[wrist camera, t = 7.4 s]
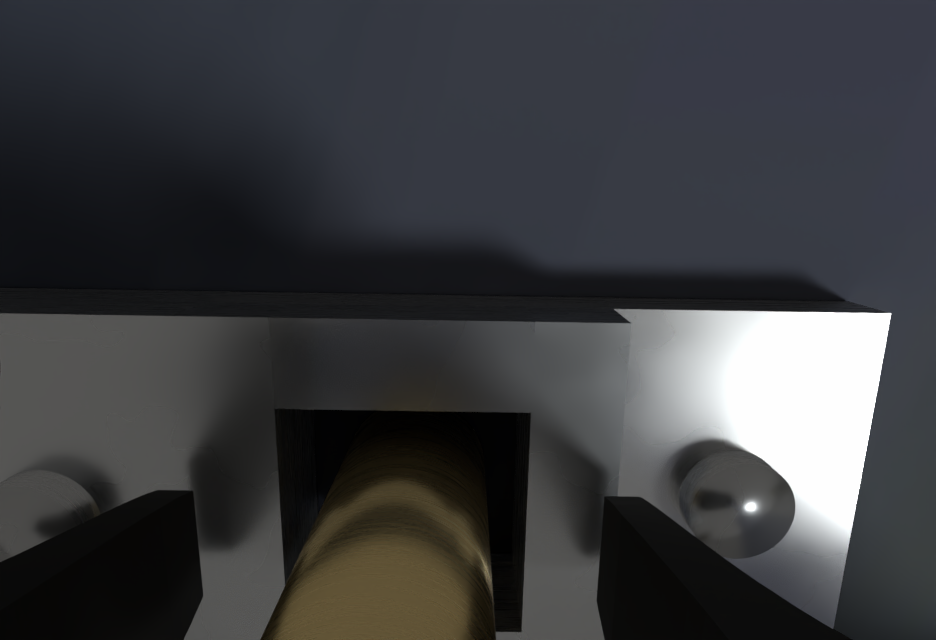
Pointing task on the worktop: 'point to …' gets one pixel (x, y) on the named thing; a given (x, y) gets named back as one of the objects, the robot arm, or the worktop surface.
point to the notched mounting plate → (453, 390)
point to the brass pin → (397, 540)
